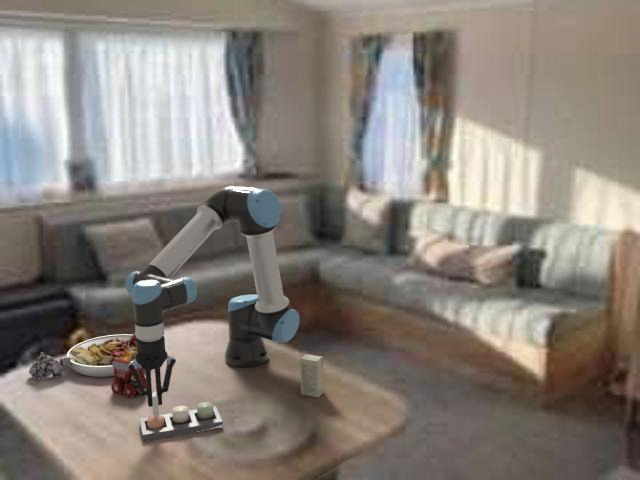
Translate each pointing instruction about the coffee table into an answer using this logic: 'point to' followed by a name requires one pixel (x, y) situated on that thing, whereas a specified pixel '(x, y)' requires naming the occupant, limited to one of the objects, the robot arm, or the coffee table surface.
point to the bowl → (102, 354)
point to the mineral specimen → (48, 367)
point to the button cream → (180, 414)
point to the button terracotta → (155, 422)
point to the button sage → (205, 410)
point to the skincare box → (311, 375)
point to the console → (179, 426)
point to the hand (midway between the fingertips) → (155, 415)
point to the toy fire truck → (126, 379)
